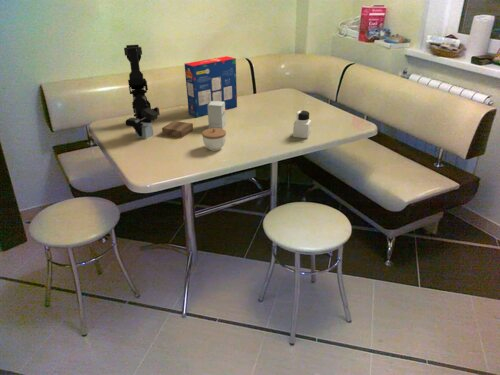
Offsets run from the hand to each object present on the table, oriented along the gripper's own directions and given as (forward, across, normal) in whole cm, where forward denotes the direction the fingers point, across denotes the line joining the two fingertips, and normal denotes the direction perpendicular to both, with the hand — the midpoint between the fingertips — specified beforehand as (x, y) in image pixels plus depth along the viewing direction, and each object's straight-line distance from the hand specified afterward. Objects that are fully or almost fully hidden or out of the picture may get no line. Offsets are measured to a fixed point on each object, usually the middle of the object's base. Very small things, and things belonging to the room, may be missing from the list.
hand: (144, 134), depth 202 cm
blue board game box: (+1, +47, -14) cm, 49 cm away
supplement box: (+1, +24, -28) cm, 37 cm away
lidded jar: (+1, -1, -39) cm, 39 cm away
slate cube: (+1, 0, 0) cm, 1 cm away
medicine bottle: (+1, +28, -72) cm, 77 cm away
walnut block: (+1, +10, -13) cm, 16 cm away
